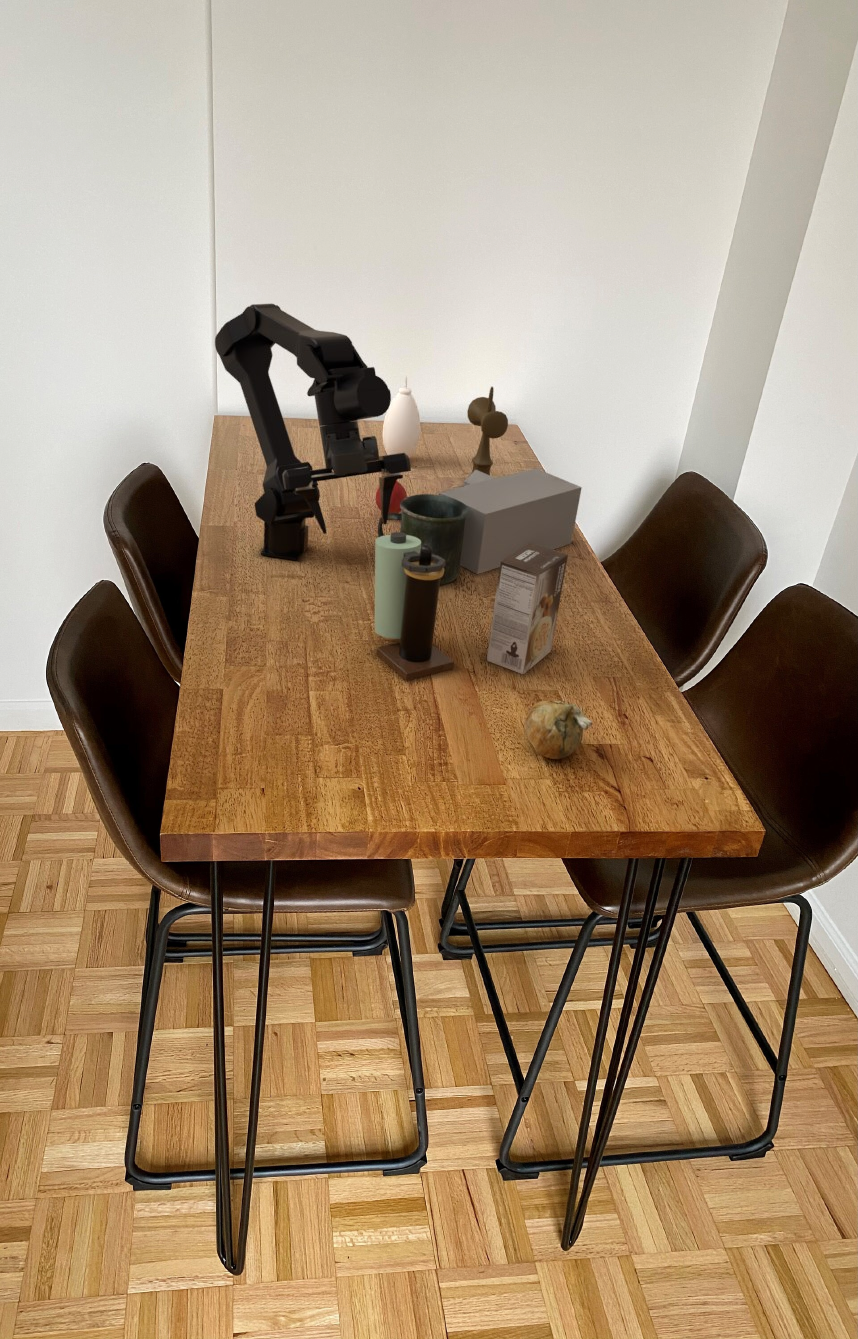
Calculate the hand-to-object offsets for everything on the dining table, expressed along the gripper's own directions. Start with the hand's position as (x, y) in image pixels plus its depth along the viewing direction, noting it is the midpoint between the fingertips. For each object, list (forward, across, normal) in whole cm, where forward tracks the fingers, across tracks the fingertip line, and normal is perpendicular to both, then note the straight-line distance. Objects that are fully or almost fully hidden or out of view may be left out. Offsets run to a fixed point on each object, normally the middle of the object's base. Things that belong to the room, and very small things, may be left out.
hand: (355, 528), depth 158 cm
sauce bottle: (-7, +18, +65) cm, 68 cm away
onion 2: (+29, +16, -35) cm, 48 cm away
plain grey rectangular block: (+7, +25, +29) cm, 39 cm away
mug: (+10, +11, +14) cm, 20 cm away
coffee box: (+21, +20, -12) cm, 31 cm away
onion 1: (+2, +10, +36) cm, 38 cm away
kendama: (-1, +33, +54) cm, 63 cm away
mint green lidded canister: (+15, +4, -13) cm, 21 cm away
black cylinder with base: (+19, +4, -14) cm, 24 cm away
